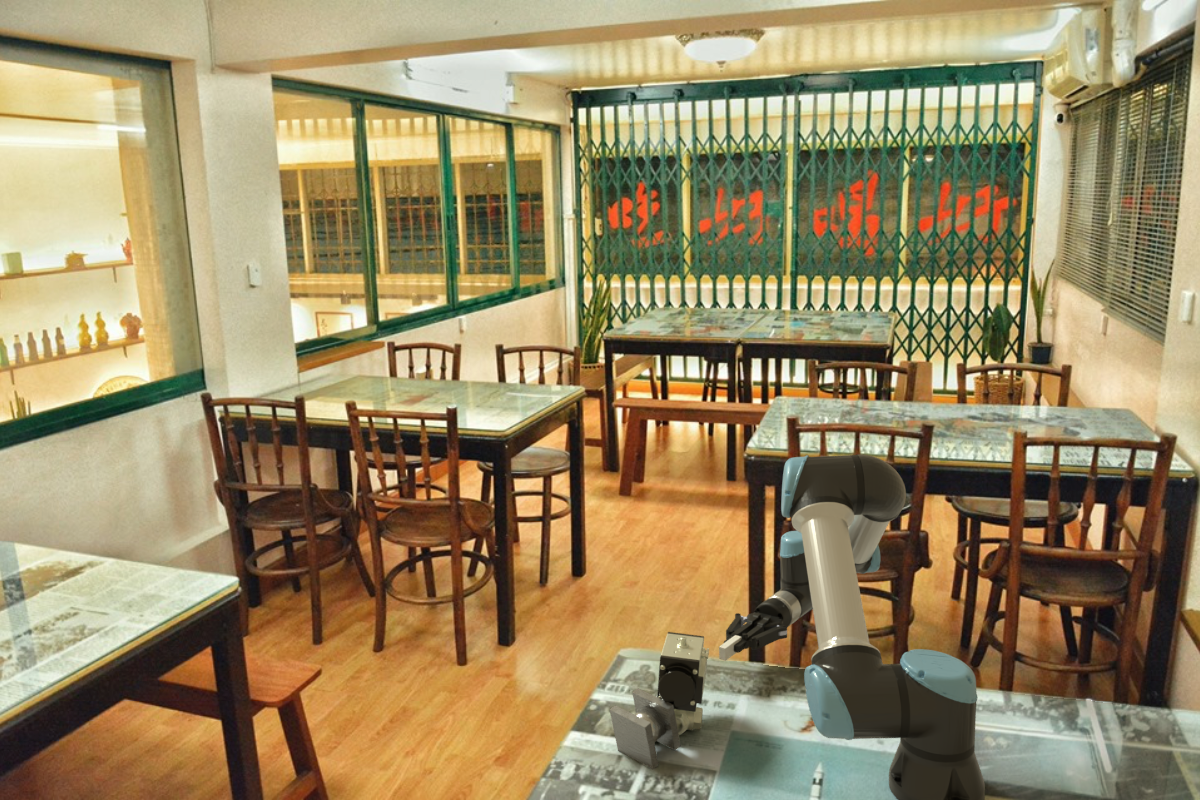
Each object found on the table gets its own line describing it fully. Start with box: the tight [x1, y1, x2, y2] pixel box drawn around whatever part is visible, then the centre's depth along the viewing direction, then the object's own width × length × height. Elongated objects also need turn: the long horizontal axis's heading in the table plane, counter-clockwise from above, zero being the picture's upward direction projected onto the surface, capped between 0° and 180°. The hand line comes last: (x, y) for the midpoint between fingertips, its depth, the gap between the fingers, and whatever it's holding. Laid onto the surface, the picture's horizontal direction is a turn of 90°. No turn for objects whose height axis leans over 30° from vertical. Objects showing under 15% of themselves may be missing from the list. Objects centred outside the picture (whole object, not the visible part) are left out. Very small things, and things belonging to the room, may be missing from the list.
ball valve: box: [656, 631, 710, 736], centre depth 177 cm, size 18×8×18 cm, turn 170°
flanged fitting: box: [609, 687, 682, 770], centre depth 170 cm, size 9×8×9 cm
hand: (722, 653), depth 190 cm, fingers closed
